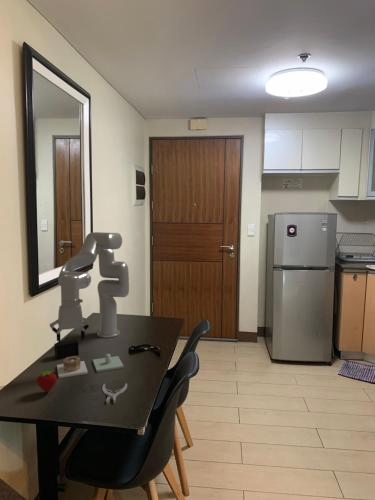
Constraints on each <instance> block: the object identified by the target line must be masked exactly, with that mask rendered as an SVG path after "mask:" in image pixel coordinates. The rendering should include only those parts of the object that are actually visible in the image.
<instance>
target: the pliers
mask: <svg viewBox="0 0 375 500" xmlns="http://www.w3.org/2000/svg"><path fill="white" fill-rule="evenodd" d="M127 388H128V383H127V382H126V383H125V385H124V386H123V387H122V388H119V389H117V390H115V391H114V393H113V391H112V390H110V389H107V388H106V383H103V385H102V389H101V390H102V393H103V394H104V395H106V396H107V398H106V400H105V404H109V403H110V401H111V400H112V402H113V404H116V402H117V397H118V396H119V395H122V394H123V393H124V392H126V390H127Z"/></svg>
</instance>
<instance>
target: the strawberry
mask: <svg viewBox="0 0 375 500" xmlns="http://www.w3.org/2000/svg"><path fill="white" fill-rule="evenodd" d="M57 379H58V377H57V375H56V374H54V372H52V371H51V370H50V371H48V370H45V371H41V372H40V374H39V375H38V376H37V378H36V382H37V386H39V388H41V390H43V391H44V393H49V392H50V391H51V390H52V389H53V388H54V386H55V384H56V383H57Z"/></svg>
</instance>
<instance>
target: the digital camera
mask: <svg viewBox="0 0 375 500" xmlns="http://www.w3.org/2000/svg"><path fill="white" fill-rule="evenodd" d="M60 342H61V343H59V342H58V341H57V342H56V343H54V358H55V359H56V360H57V361H58V360H59V361H60V360H63V359H65V358H67V357H71V356H76V357H78V356H79V355H80V354H79V351H80V349H79V341H78V340H77V339H70V340H66V341H65V340H64V341H60Z"/></svg>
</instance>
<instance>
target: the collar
mask: <svg viewBox="0 0 375 500" xmlns="http://www.w3.org/2000/svg"><path fill="white" fill-rule="evenodd" d="M62 360H63V361H62V364H63V366H64V371H68V372H72V371H77V370H78V369H80V368H81V367H80V361H81V358H80V356H71V357H67V358H64V359H62ZM70 360H74V361H71V362H70Z"/></svg>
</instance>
